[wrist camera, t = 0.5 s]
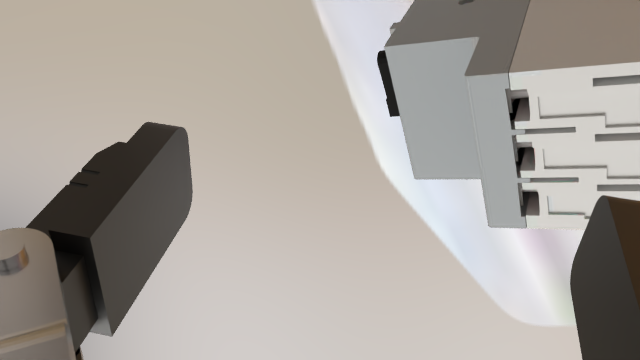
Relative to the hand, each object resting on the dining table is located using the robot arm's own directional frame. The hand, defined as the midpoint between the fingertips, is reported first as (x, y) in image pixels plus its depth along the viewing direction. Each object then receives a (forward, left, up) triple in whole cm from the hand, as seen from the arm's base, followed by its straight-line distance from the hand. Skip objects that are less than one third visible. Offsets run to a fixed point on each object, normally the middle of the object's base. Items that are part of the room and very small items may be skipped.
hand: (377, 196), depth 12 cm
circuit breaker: (+7, 0, -28) cm, 29 cm away
